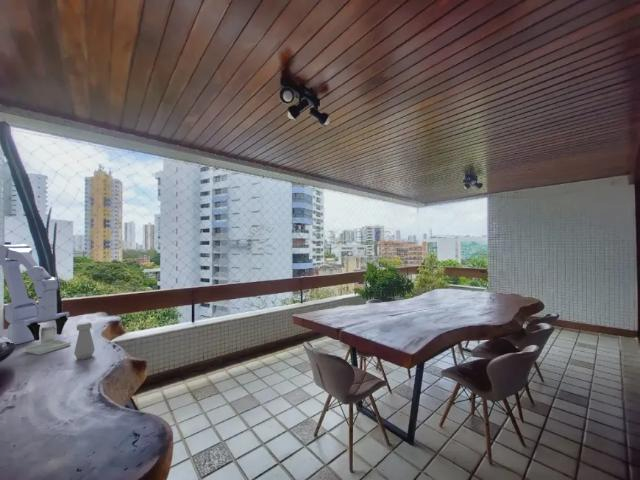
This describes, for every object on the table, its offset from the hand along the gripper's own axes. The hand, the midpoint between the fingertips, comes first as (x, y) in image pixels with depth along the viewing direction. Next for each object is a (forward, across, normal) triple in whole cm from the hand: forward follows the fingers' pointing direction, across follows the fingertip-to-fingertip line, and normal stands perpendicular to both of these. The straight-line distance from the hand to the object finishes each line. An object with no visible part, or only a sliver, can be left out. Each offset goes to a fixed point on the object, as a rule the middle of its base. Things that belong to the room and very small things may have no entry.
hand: (48, 337), depth 121 cm
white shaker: (+3, 0, 0) cm, 3 cm away
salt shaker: (+3, -5, -35) cm, 35 cm away
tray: (+3, -4, -9) cm, 10 cm away
